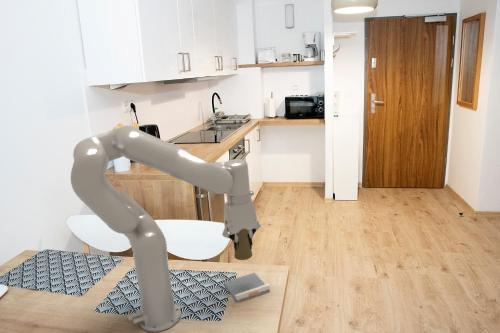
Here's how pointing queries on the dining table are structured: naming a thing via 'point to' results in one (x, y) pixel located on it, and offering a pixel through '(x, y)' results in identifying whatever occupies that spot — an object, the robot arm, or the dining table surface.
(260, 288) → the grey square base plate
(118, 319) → the dining table surface
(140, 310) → the robot arm
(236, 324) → the dining table surface
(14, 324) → the dining table surface
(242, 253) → the olive brown pepper mill
